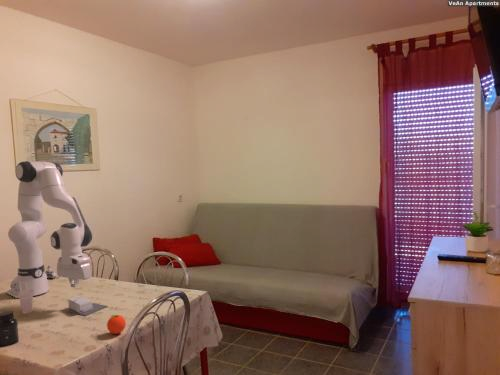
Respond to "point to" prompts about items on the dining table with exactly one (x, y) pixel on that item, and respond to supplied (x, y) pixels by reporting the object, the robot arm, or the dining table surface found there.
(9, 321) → the supplement bottle
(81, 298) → the skincare box
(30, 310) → the smoothie
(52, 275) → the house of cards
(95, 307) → the mat
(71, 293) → the dining table surface
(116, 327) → the clementine
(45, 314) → the dining table surface
